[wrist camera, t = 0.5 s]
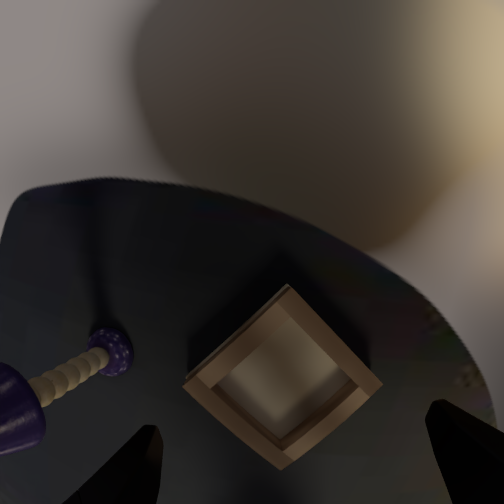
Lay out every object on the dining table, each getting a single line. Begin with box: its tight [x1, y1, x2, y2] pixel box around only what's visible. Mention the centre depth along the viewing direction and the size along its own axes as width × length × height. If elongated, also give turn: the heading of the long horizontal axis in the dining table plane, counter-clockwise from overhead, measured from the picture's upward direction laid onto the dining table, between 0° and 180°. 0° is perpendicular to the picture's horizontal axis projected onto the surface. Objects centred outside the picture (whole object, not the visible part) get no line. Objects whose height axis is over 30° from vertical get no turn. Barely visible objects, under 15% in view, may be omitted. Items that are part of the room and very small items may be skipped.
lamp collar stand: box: [182, 284, 383, 470], centre depth 22 cm, size 11×11×3 cm
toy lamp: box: [0, 327, 133, 456], centre depth 15 cm, size 5×5×17 cm
